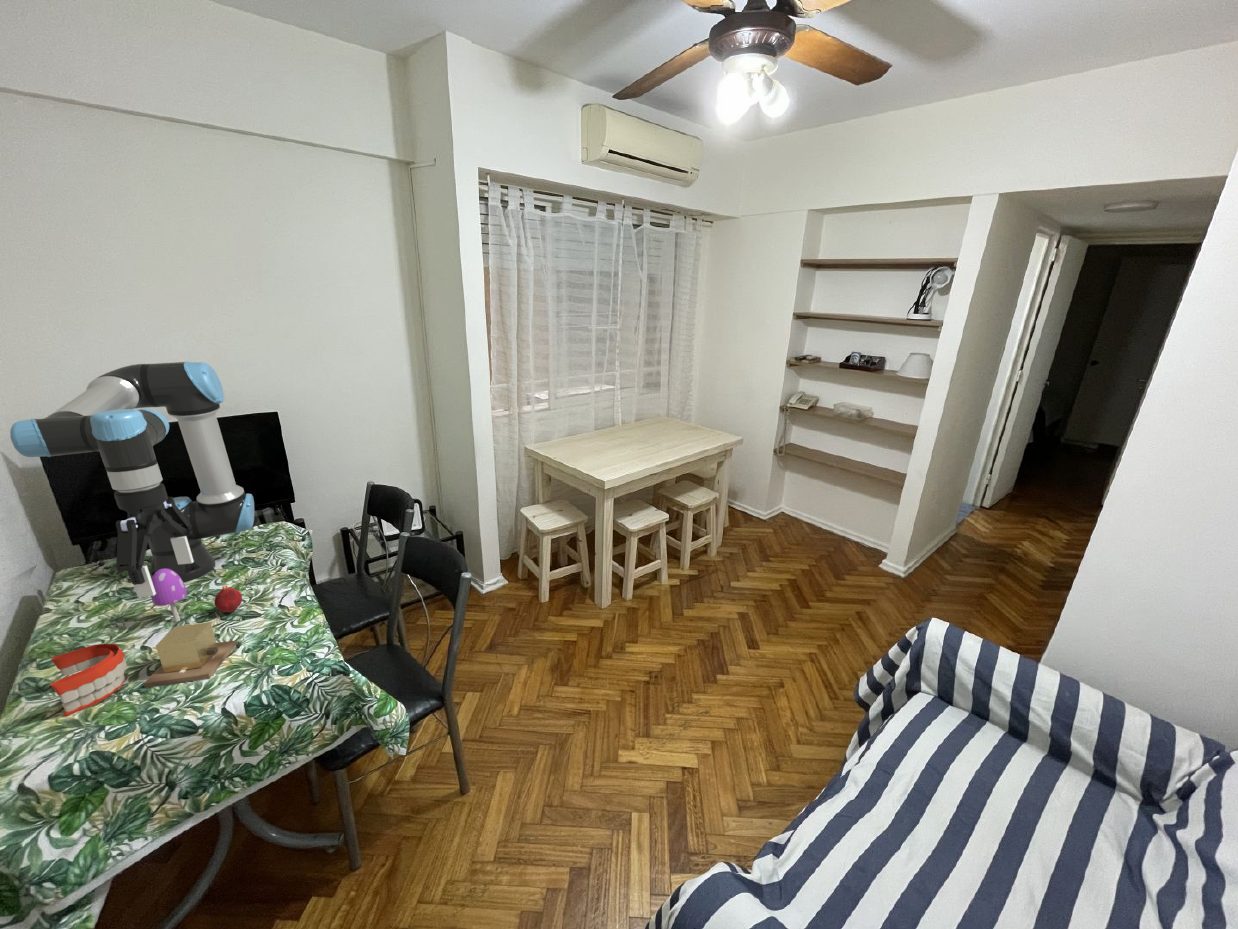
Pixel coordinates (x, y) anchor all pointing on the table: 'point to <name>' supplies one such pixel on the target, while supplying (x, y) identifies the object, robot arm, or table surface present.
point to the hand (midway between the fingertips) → (167, 578)
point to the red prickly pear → (228, 599)
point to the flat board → (192, 674)
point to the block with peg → (187, 647)
